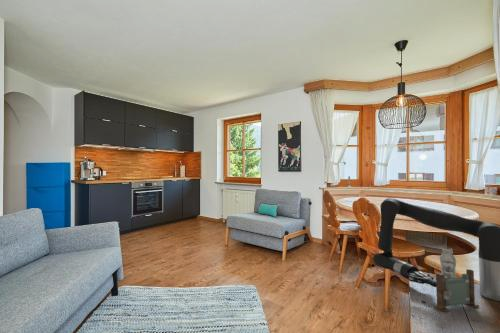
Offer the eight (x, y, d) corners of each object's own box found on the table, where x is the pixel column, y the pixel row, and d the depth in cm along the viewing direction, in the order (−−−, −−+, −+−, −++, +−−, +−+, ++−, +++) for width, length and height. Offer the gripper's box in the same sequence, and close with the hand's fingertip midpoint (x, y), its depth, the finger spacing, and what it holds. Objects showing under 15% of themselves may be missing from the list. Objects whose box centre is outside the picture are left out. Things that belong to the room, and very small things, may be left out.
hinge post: (470, 302, 110) (468, 268, 110) (479, 307, 106) (477, 271, 107) (463, 303, 109) (462, 269, 109) (472, 308, 106) (470, 272, 106)
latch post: (442, 306, 107) (441, 271, 107) (451, 312, 103) (450, 275, 103) (433, 308, 106) (432, 272, 106) (443, 313, 102) (441, 276, 102)
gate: (465, 301, 108) (464, 273, 108) (469, 303, 106) (468, 275, 107) (442, 304, 106) (441, 276, 106) (446, 307, 104) (445, 277, 104)
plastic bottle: (461, 293, 118) (459, 250, 119) (444, 292, 120) (443, 250, 120) (453, 287, 125) (451, 246, 125) (437, 286, 126) (436, 246, 127)
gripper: (394, 264, 128) (424, 278, 111) (416, 261, 130) (449, 275, 114) (395, 278, 128) (425, 295, 111) (416, 276, 130) (449, 291, 113)
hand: (437, 285), depth 112 cm, fingers closed
